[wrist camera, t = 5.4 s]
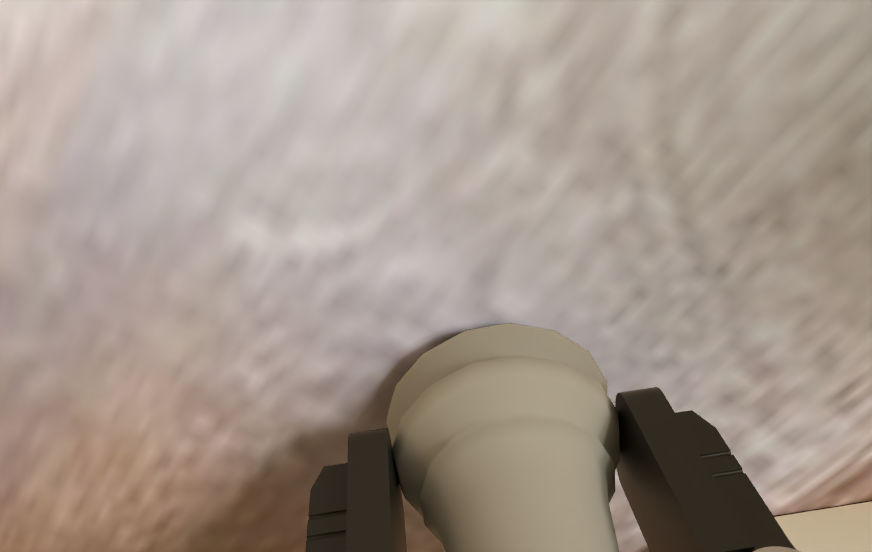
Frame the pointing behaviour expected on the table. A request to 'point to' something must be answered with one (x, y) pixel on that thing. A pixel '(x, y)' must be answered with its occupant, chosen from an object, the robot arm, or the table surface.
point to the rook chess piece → (508, 443)
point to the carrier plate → (830, 529)
